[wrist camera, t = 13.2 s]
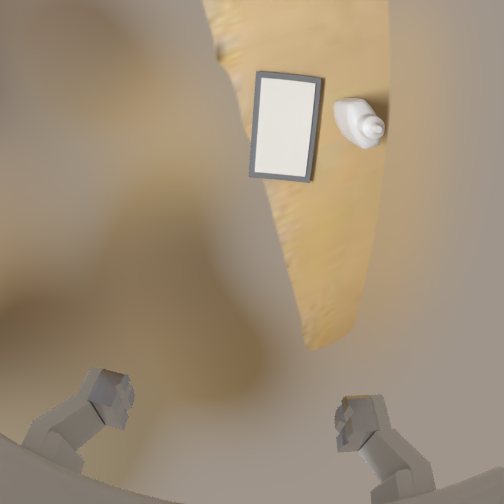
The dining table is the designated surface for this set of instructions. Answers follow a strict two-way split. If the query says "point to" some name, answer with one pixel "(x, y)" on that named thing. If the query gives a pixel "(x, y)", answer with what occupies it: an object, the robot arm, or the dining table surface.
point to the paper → (284, 126)
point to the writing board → (255, 125)
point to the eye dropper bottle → (358, 122)
